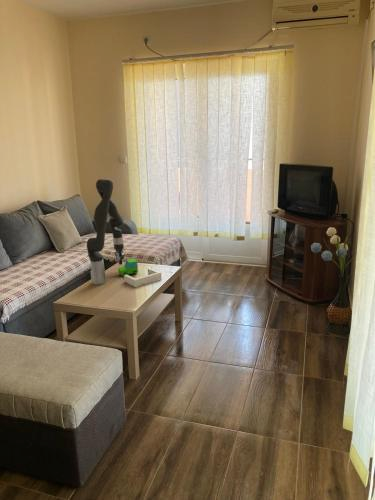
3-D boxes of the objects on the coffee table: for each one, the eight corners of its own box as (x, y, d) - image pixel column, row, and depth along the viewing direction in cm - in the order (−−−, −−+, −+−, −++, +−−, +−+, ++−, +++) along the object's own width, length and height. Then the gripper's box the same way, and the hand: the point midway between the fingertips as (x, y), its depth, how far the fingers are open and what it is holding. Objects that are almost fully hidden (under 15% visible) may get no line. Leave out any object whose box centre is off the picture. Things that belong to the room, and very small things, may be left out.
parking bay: (135, 287, 275) (134, 280, 274) (124, 281, 286) (124, 275, 285) (161, 279, 288) (161, 272, 286) (150, 274, 299) (149, 268, 298)
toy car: (118, 273, 305) (116, 261, 303) (134, 270, 311) (133, 258, 308) (121, 277, 296) (120, 264, 294) (138, 274, 302) (137, 261, 299)
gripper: (110, 242, 309) (112, 263, 314) (118, 245, 299) (120, 267, 303) (118, 240, 313) (120, 261, 318) (126, 243, 303) (129, 264, 308)
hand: (120, 264), depth 311 cm, fingers closed
